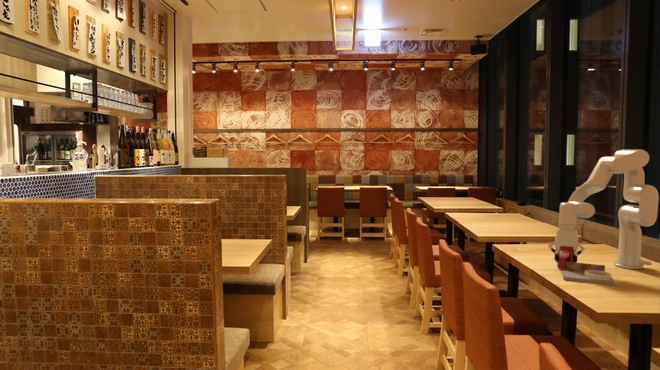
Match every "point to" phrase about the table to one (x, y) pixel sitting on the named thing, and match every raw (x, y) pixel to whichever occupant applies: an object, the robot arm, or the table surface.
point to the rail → (583, 267)
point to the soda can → (565, 256)
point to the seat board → (584, 279)
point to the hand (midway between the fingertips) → (565, 262)
